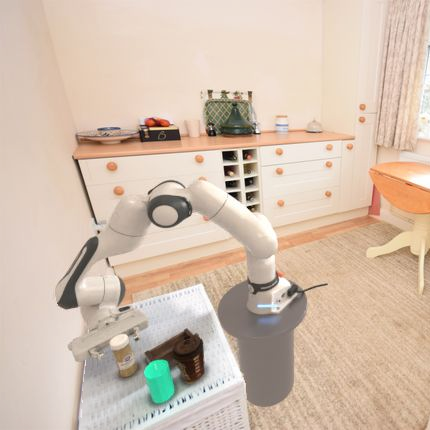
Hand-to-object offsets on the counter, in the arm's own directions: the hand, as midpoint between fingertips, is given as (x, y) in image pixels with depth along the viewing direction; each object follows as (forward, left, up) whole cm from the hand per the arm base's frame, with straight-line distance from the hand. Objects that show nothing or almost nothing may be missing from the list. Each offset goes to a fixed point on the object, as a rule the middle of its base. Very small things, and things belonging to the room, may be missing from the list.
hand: (120, 348), depth 88 cm
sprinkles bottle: (0, +2, -9) cm, 9 cm away
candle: (-4, +17, -9) cm, 19 cm away
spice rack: (-12, +6, -9) cm, 16 cm away
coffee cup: (-13, +17, -9) cm, 23 cm away
